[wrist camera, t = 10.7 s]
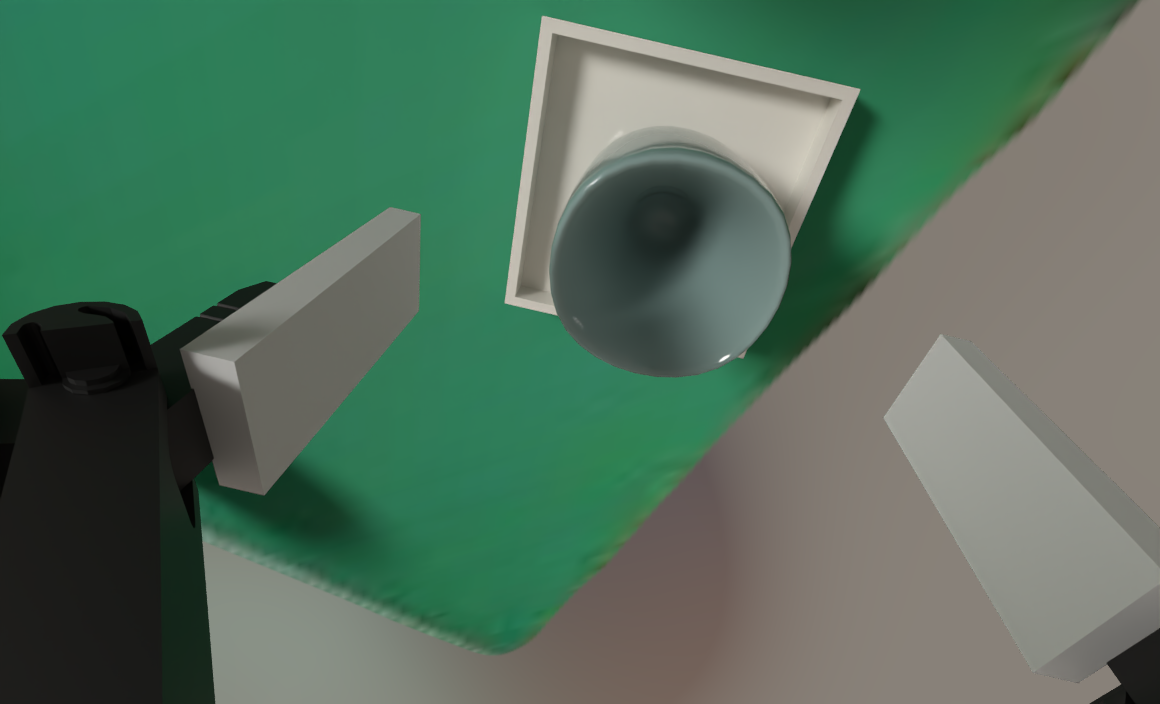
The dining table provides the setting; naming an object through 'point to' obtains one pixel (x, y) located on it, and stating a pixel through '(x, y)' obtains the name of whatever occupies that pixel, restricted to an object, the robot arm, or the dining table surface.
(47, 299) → the dining table surface
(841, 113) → the dish
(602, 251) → the cup
